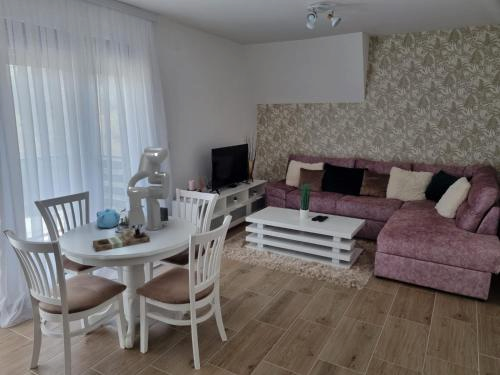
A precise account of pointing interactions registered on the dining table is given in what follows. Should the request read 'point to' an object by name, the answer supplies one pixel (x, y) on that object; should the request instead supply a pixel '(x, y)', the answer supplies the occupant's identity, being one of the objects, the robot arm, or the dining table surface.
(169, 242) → the dining table surface
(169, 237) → the dining table surface
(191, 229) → the dining table surface
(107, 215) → the decorative pot
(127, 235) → the birch block
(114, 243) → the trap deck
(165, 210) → the small box
